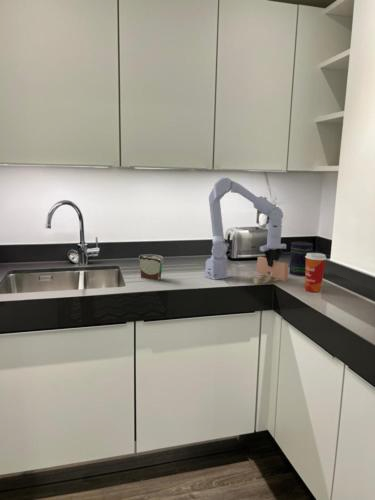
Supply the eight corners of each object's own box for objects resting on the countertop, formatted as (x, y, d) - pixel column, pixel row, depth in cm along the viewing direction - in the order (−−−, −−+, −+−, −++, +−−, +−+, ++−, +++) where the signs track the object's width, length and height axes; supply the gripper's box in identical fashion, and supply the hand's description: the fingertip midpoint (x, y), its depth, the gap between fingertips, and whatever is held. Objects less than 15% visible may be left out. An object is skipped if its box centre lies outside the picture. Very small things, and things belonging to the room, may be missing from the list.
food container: (169, 278, 164) (169, 256, 162) (161, 281, 159) (161, 258, 157) (146, 274, 170) (146, 253, 169) (138, 277, 165) (138, 255, 163)
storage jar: (308, 277, 174) (311, 245, 171) (287, 274, 178) (289, 243, 175) (311, 272, 183) (314, 242, 180) (290, 270, 187) (293, 240, 184)
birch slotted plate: (256, 284, 160) (256, 277, 159) (253, 283, 161) (253, 276, 161) (287, 278, 171) (288, 271, 170) (284, 277, 172) (284, 271, 172)
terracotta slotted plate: (287, 280, 160) (288, 264, 158) (283, 280, 159) (285, 264, 157) (259, 271, 173) (260, 256, 171) (256, 272, 171) (257, 257, 170)
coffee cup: (299, 287, 157) (302, 252, 154) (318, 287, 157) (321, 252, 155) (306, 293, 149) (310, 256, 146) (326, 293, 149) (330, 256, 146)
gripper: (269, 237, 155) (267, 269, 157) (292, 235, 163) (290, 265, 166) (257, 235, 160) (255, 266, 163) (280, 233, 169) (277, 262, 171)
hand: (272, 265), depth 165 cm, fingers closed on terracotta slotted plate, 2 cm apart
